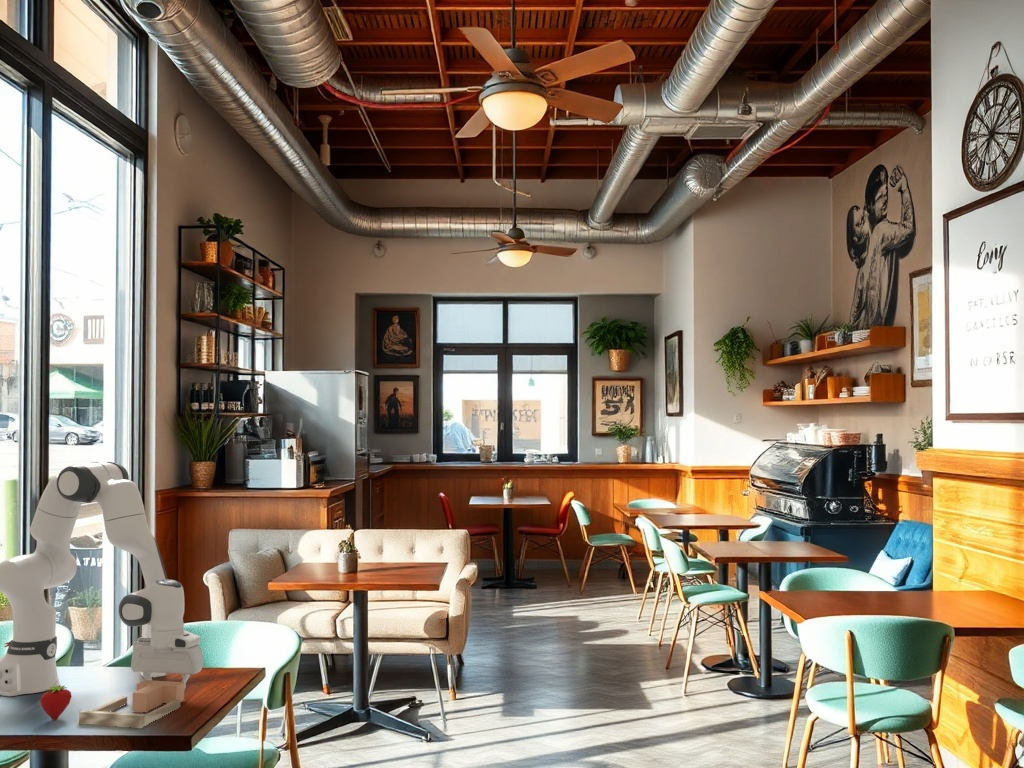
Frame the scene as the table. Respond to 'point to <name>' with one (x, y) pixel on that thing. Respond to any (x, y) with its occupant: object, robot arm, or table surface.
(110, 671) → the table surface
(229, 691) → the table surface
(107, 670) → the table surface
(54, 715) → the strawberry
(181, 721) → the table surface
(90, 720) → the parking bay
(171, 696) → the T block
